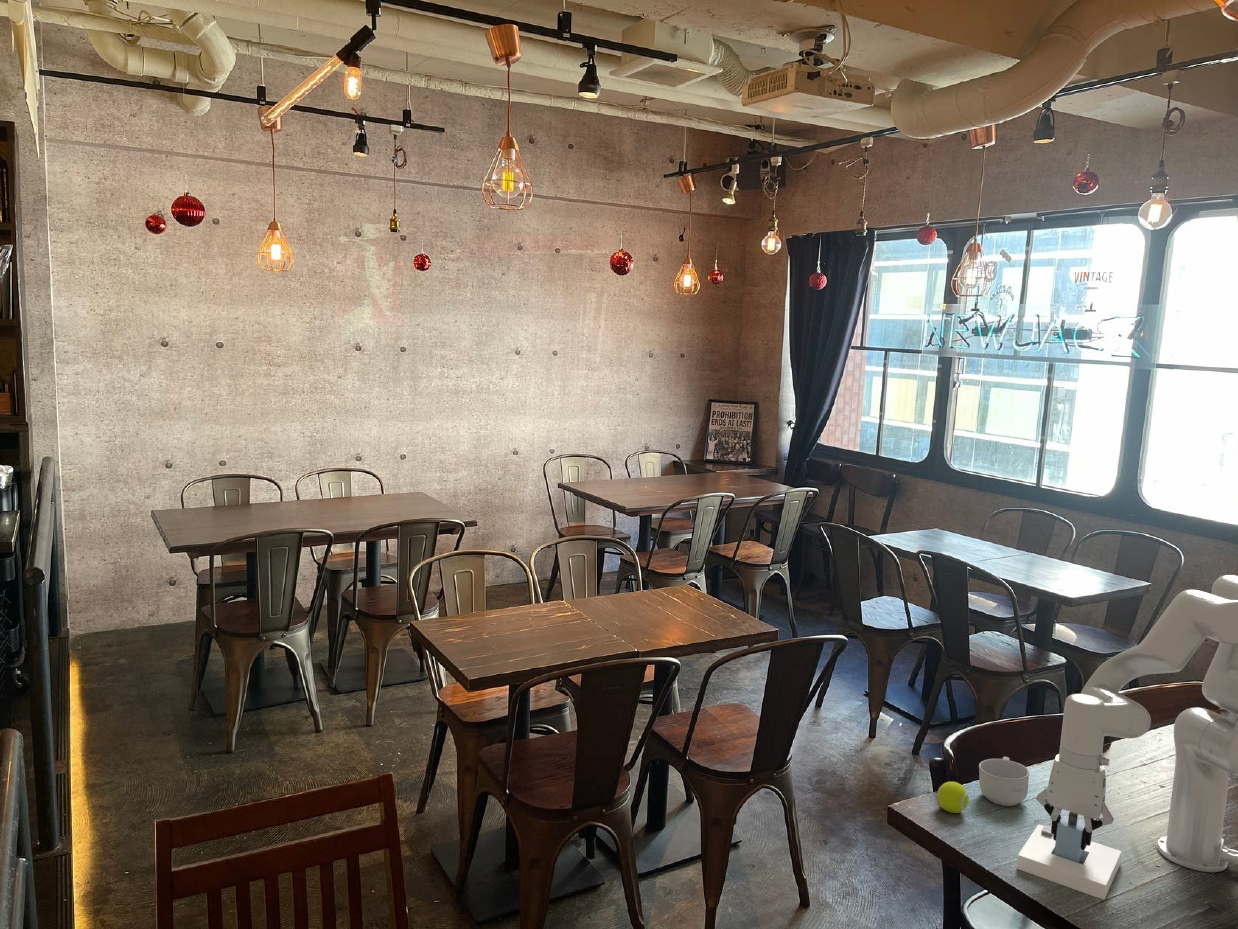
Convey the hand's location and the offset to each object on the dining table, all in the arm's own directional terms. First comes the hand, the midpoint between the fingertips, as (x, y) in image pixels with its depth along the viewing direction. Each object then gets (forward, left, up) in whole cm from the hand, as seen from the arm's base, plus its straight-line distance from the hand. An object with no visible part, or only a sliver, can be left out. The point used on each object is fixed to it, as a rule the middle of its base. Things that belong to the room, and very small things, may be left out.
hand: (1070, 841), depth 186 cm
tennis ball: (+26, -7, -6) cm, 27 cm away
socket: (0, 0, -5) cm, 5 cm away
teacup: (+19, -22, -6) cm, 30 cm away
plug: (0, 0, -3) cm, 3 cm away
